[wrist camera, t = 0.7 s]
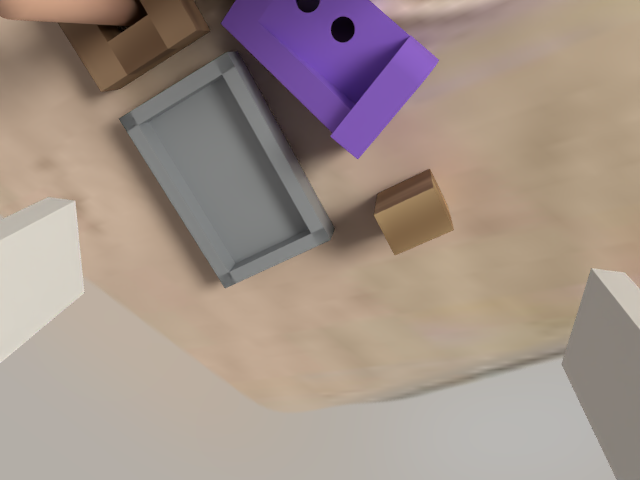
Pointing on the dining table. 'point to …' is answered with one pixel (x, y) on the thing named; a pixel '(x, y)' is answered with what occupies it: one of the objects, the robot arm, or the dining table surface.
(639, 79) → the dining table surface
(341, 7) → the bracket
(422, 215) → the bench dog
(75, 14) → the dowel
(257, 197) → the tray
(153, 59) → the dowel block
